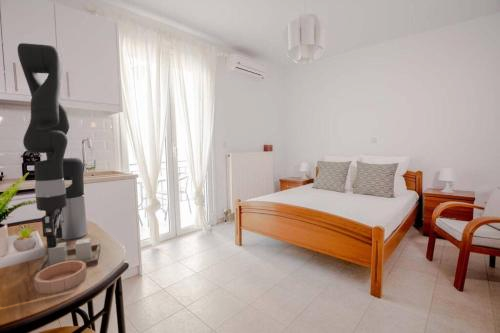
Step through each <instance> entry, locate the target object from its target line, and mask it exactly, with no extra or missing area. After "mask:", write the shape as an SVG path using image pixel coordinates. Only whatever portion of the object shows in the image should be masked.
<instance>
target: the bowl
mask: <svg viewBox="0 0 500 333" xmlns="http://www.w3.org/2000/svg"><path fill="white" fill-rule="evenodd" d="M87 273H88V271H87V266H86V263H85V262H83V261H74V260H71V261H66V262H61V263H57V264H54V265H52V266H49V267H46V268H45V269H43V270H41V271H40V272H38V273H37V274H36V273H35V276H34V277H33V283H34V290H35V291H36V292H37V293H39V294H54V293H55V294H56V293H58V292H63V291H66V290H68V289H70V288H71V289H72V288H73V287H76V286H78V285H79V284H80V283H82V281H85V279H86V278H87V276H88V275H87Z"/></svg>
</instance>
